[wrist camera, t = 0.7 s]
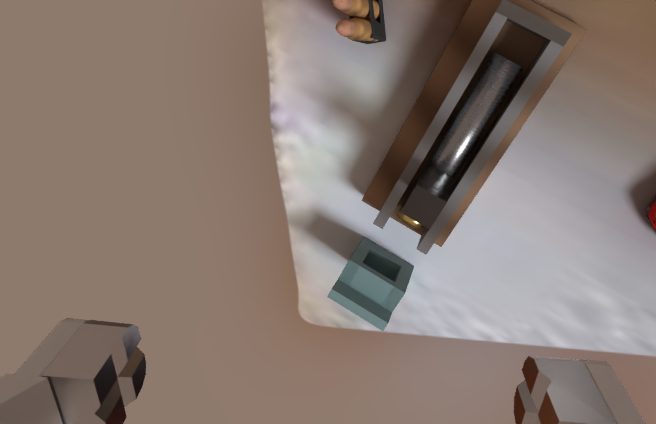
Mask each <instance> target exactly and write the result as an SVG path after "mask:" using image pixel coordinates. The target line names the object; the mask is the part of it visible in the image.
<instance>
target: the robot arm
mask: <svg viewBox="0 0 656 424" xmlns="http://www.w3.org/2000/svg"><path fill="white" fill-rule="evenodd" d="M140 340H141V336H140V332H139V328H138V326H135V325H133V324H124V323H115V322H106V321H96V320H82V319H73V318H66V319H64V320H62V321H60V322H59V323H58V324H57V325H56V326H55V328H54V329H53V330H52V331H51V332H50V333H49V334H48V336H47V337H46V338H45V339H44V340H43V341H42V343H41V344H40V345H39V346H38V347H37V348H36V350H35V351H34V352H33V353H32V354H31V355H30V356H29V358H28V359H27V360H26V361H25V362H24V363H23V364H22V366H21V367H20V368H19V369H18V370H17V371H16V373H15V374H5V375H4V376H1V377H0V424H123V423H124V421H125V419H126V412H125V408H124V407H125V406H127V405H128V404H130V403H131V402H133V401H134V400H136V399H137V397H138V395H139V393H140V391H141V389H142V386H143V382H144V379H145V375H146V360H145V355H144V353H142V351H140V350H139V349H138V348H137V345H138V343H139V342H140ZM522 372H523V375H524V378H525V380H524V381H523V382H522V383H520V384H519V385H518V386H517V388H516V392H515V396H514V416H515V423H516V424H646V423H645V421H644V420H643V418H642V416H641V415H640V413H639V411H638V410H637V408H636V406H635V405H634V403H633V402H632V400H631V398H630V396H629V395H628V393H627V391H626V390H625V388H624V386H623V385H622V383H621V381H620V380H619V378H618V376H617V374H616V373H615V371H614V370H613V368H612V366H611V365H610V364H609V363H607V362H606V361H595V360H576V359H562V358H548V357H535V356H534V357H533V356H528V357H527V359H526V360H525V362H524V365H523V368H522Z"/></svg>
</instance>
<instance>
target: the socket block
mask: <svg viewBox="0 0 656 424" xmlns="http://www.w3.org/2000/svg"><path fill="white" fill-rule="evenodd" d="M413 268H414V266H413V265H411V264H409V263H408V262H406V261H404V260H403V259H401V258H399V257H398V256H396V255H394V254H393V253H391V252H389V251H387V250H386V249H384V248H382V247H381V246H379V245H377V244H376V243H374V242H372V241H371V240H369V239H367V238H366V237H364V238H363V240H362V241H361V243H360V244H359V246H358V247H357V249H356V250H355V252H354V253H353V255H352V256H351V258H350V259H349V261H348V263H347V264H346V266H345V268H344V270H343V271H342V273H341V275H340V277H339V278H338V280H337V282H336V283H335V285H334V286H333V288H332V289H331V291H330V293H329V294H328V296H327V297H329V298H330V299H332V300H333V301H335V302H337V303H338V304H340V305H342V306H343V307H345V308H346V309H348V310H350V311H351V312H353V313H355V314H356V315H358V316H359V317H361V318H363V319H364V320H366V321H368V322H369V323H371V324H372V325H374V326H376V327H377V328H379V329H381V330H382V331H383V330H384V329H385V327H386V326H387V324H388V322H389V319H390V317H391V314H392V312H393V310H394V309H395V307H396V306H397V304H398V303H399V301H400V300H401V298H402V297H403V295H404V294H405V291H406V289H407V286H408V283H409V280H410V277H411V274H412V271H413Z"/></svg>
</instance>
